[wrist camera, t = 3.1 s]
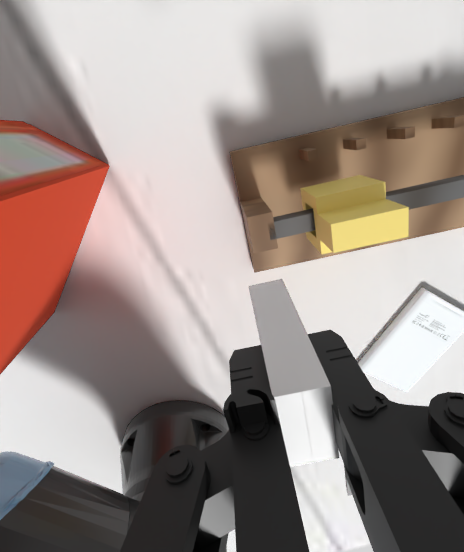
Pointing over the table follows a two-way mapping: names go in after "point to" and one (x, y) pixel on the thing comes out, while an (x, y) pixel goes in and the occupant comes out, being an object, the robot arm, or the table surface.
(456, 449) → the robot arm
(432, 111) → the comb stand
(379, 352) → the external hard drive
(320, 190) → the sleeve
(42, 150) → the file binder
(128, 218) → the table surface
